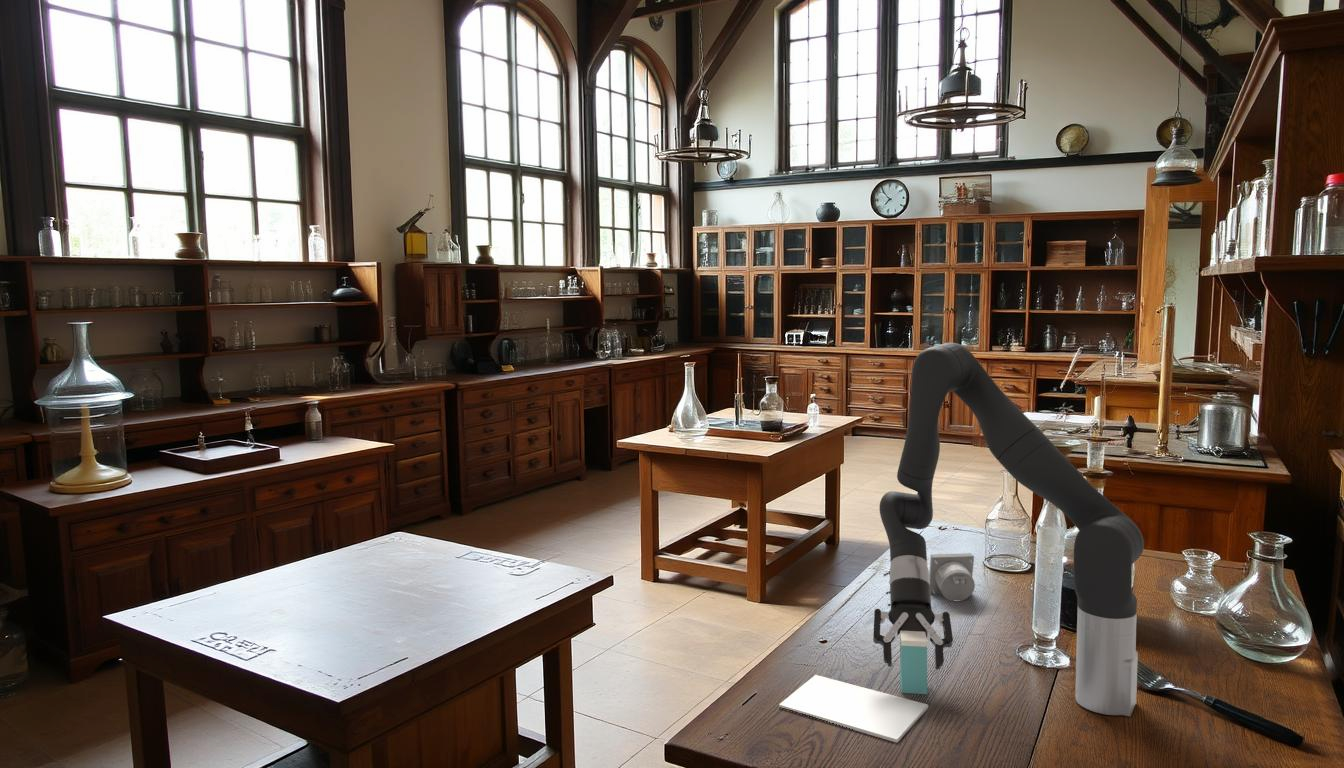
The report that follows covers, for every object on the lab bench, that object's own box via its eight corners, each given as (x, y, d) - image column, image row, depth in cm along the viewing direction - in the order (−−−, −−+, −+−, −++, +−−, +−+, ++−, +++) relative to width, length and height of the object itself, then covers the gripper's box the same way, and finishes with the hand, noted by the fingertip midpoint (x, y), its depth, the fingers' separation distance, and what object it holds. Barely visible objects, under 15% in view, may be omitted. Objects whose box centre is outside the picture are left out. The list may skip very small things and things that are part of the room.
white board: (928, 707, 155) (928, 704, 155) (897, 742, 144) (897, 739, 144) (815, 677, 168) (815, 674, 168) (779, 707, 157) (779, 704, 157)
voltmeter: (948, 584, 216) (948, 545, 215) (989, 597, 207) (989, 556, 206) (873, 610, 201) (873, 568, 200) (913, 625, 192) (913, 581, 191)
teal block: (925, 683, 165) (925, 631, 164) (927, 694, 160) (927, 641, 159) (900, 681, 166) (900, 630, 165) (901, 692, 161) (901, 640, 160)
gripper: (872, 574, 170) (874, 656, 160) (949, 577, 167) (956, 661, 157) (871, 591, 175) (873, 671, 166) (946, 594, 173) (952, 676, 163)
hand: (913, 666), depth 161 cm, fingers open, 8 cm apart
